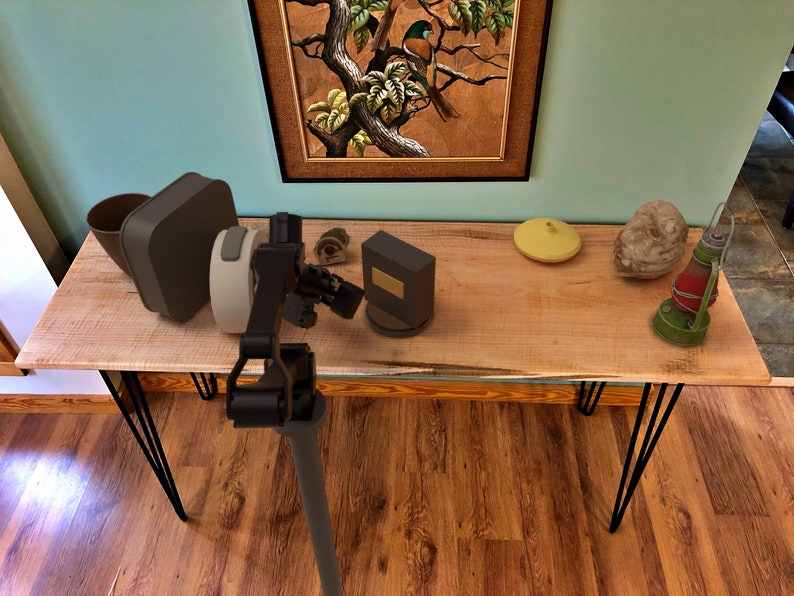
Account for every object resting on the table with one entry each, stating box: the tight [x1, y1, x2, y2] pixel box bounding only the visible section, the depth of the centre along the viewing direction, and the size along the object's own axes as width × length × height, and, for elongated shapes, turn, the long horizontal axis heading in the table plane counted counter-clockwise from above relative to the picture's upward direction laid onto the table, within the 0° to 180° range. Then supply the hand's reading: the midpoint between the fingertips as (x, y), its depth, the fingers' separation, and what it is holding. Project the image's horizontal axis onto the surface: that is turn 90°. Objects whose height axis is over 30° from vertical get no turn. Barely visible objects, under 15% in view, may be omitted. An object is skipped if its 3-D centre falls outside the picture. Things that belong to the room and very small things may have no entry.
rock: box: [612, 199, 690, 280], centre depth 138 cm, size 18×16×15 cm
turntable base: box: [365, 301, 432, 339], centre depth 132 cm, size 14×14×2 cm
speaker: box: [119, 171, 240, 323], centre depth 131 cm, size 25×9×25 cm, turn 154°
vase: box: [513, 217, 582, 263], centre depth 146 cm, size 16×16×7 cm
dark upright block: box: [360, 229, 437, 330], centre depth 126 cm, size 13×14×16 cm
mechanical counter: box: [313, 227, 351, 266], centre depth 146 cm, size 7×13×10 cm
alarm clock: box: [210, 225, 268, 334], centre depth 127 cm, size 21×8×20 cm, turn 179°
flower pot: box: [85, 192, 152, 279], centre depth 139 cm, size 15×15×16 cm
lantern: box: [651, 201, 735, 349], centre depth 119 cm, size 14×11×30 cm
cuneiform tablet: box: [251, 223, 269, 243], centre depth 147 cm, size 7×4×12 cm
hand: (342, 291), depth 123 cm, fingers closed
